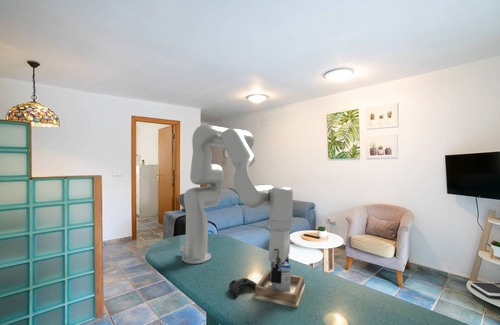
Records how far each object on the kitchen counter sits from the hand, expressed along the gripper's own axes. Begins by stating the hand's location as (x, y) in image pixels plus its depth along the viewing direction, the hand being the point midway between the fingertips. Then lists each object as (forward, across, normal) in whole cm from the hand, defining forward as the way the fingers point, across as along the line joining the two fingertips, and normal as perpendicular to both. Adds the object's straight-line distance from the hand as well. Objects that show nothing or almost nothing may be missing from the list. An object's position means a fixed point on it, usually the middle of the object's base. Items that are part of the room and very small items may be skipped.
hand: (280, 276), depth 80 cm
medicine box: (+4, 0, 0) cm, 4 cm away
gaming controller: (+6, +4, -12) cm, 14 cm away
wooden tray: (+5, 0, 0) cm, 5 cm away
